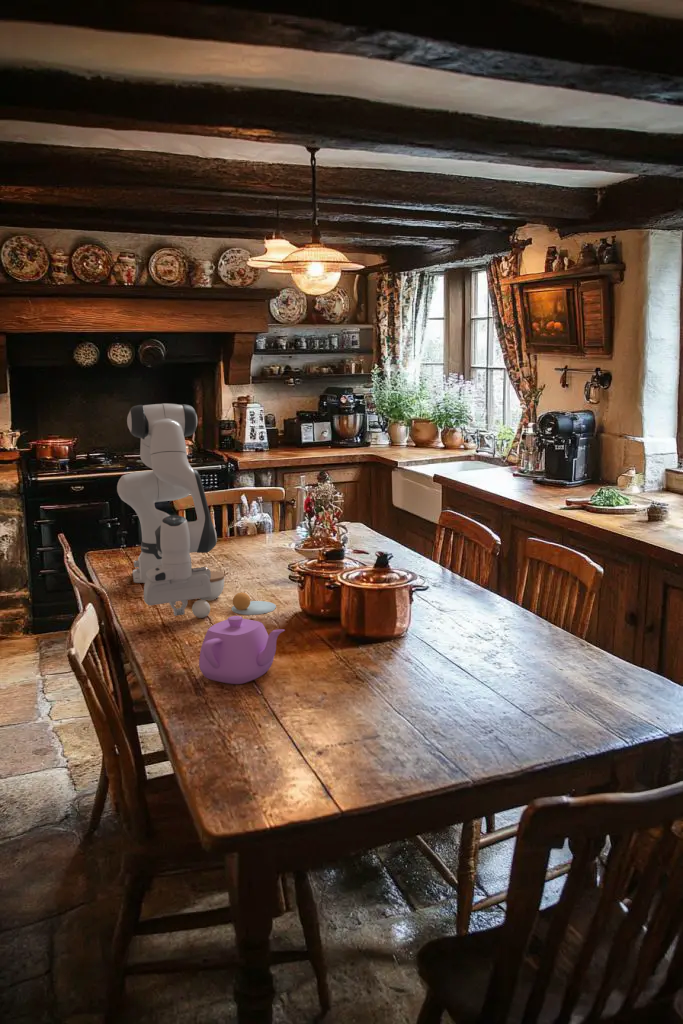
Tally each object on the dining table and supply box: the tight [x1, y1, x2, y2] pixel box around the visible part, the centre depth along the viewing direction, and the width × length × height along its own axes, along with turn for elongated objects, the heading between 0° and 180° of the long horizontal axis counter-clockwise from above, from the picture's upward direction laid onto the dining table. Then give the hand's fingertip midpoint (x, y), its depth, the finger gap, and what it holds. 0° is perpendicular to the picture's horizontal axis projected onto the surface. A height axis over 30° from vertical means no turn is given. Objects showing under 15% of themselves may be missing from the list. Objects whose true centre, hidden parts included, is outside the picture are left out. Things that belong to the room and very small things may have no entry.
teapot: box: [198, 615, 286, 685], centre depth 211 cm, size 23×21×15 cm
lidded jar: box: [199, 570, 225, 601], centre depth 282 cm, size 11×11×9 cm
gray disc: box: [231, 600, 277, 616], centre depth 271 cm, size 14×14×1 cm
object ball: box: [232, 591, 251, 610], centre depth 269 cm, size 6×6×6 cm
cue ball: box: [191, 599, 211, 619], centre depth 261 cm, size 6×6×6 cm
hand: (179, 614), depth 260 cm, fingers closed
